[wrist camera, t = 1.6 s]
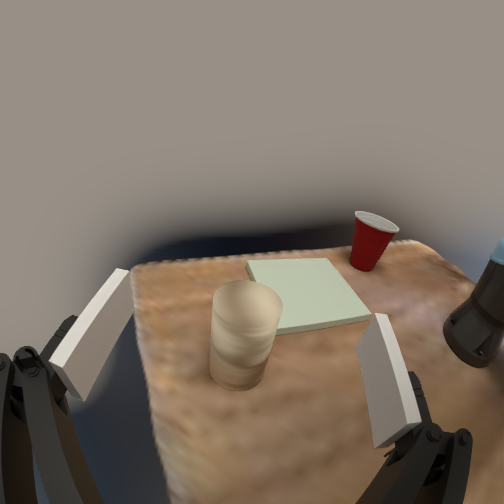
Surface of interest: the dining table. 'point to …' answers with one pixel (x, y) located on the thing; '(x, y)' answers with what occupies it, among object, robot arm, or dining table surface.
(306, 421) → the dining table surface
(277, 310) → the birch roller
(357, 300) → the board
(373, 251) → the plastic cup
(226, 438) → the dining table surface
